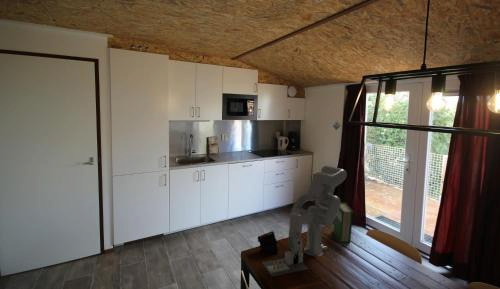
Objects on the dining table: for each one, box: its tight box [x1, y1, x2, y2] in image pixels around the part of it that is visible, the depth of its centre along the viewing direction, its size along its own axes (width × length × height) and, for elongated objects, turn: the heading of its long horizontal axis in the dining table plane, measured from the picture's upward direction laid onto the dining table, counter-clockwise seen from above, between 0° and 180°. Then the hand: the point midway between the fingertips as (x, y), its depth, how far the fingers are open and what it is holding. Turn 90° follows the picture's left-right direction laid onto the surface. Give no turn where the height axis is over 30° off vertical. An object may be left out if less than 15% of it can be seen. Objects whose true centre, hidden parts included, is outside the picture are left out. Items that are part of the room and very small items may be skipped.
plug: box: [284, 249, 310, 265], centre depth 157 cm, size 16×4×6 cm, turn 110°
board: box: [261, 257, 309, 277], centre depth 152 cm, size 24×14×5 cm, turn 110°
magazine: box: [257, 230, 279, 254], centre depth 166 cm, size 4×13×15 cm, turn 87°
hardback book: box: [333, 201, 354, 244], centre depth 191 cm, size 18×7×24 cm, turn 176°
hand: (293, 260), depth 156 cm, fingers open, 4 cm apart
